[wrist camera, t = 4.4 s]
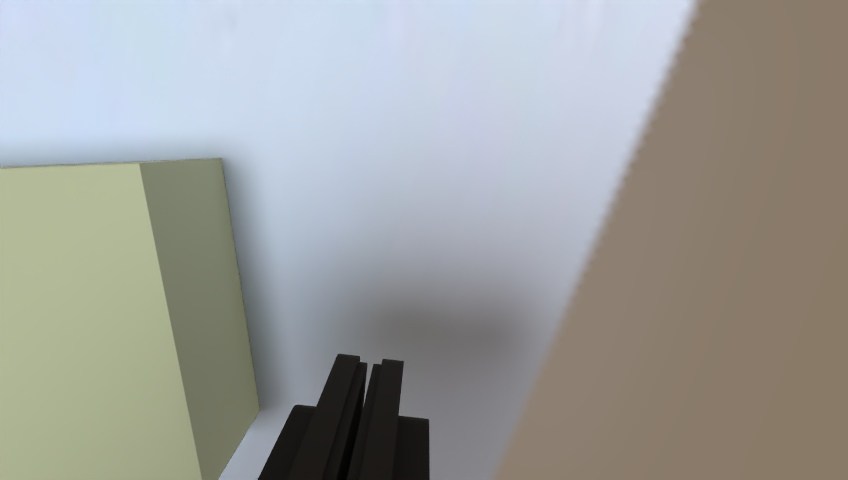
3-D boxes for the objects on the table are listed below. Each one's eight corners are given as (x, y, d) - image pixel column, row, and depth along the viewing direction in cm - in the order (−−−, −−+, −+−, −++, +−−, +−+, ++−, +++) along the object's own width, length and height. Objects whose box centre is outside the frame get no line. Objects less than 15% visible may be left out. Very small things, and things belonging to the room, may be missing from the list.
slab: (262, 405, 16) (206, 499, 12) (-28, 416, 16) (-190, 514, 12) (225, 157, 14) (139, 163, 10) (-112, 171, 14) (-350, 182, 10)
